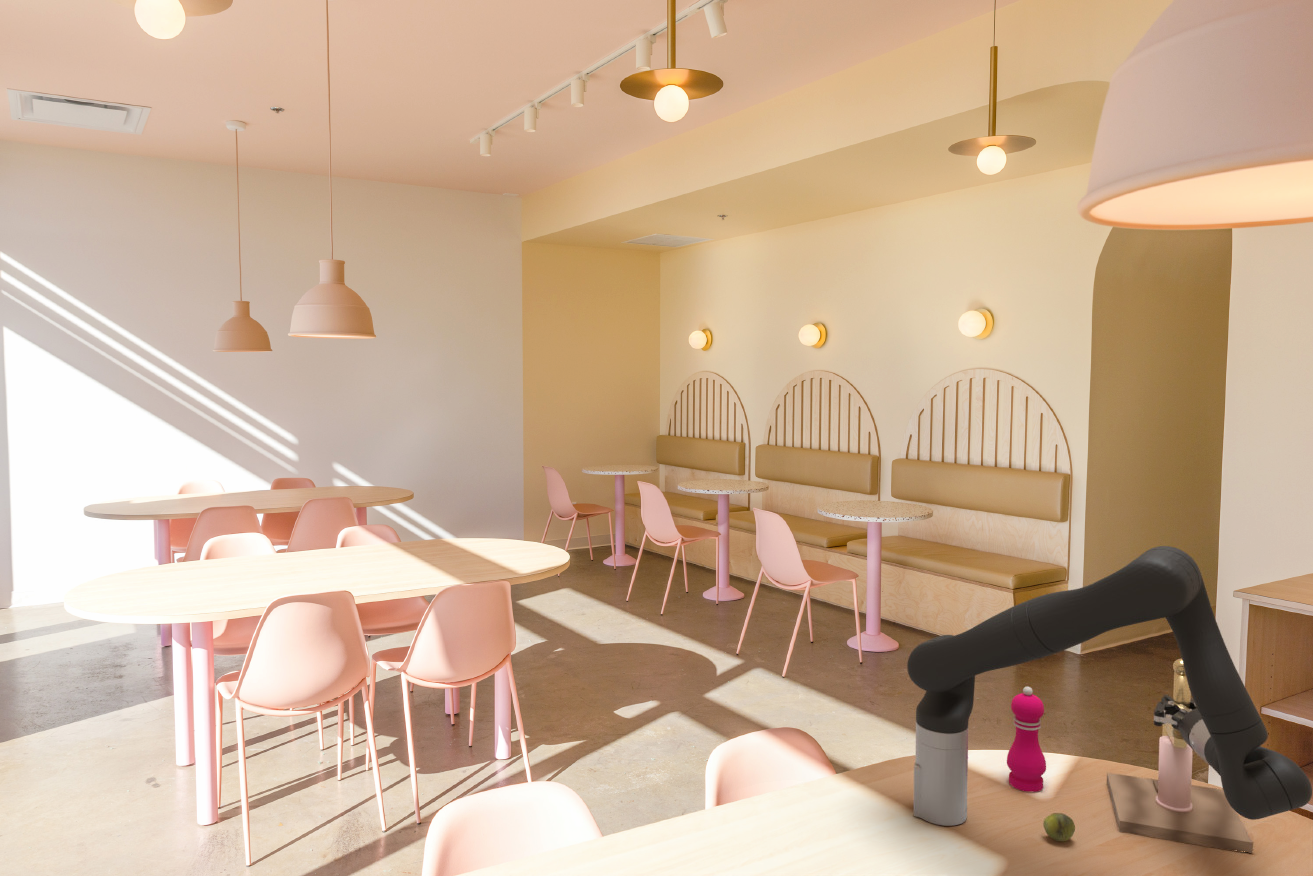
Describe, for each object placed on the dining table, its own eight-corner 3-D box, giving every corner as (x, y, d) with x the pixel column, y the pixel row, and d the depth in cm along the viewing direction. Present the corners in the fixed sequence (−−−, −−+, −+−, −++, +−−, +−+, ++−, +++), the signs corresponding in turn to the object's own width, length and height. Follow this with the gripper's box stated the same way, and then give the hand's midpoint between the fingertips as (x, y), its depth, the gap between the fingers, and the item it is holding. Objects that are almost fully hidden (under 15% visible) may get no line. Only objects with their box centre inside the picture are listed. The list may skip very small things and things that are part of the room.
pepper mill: (1052, 793, 165) (1054, 693, 164) (1014, 793, 166) (1016, 693, 164) (1036, 776, 173) (1038, 680, 171) (1000, 776, 173) (1002, 680, 171)
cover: (1158, 809, 155) (1160, 745, 154) (1153, 794, 161) (1155, 733, 160) (1195, 815, 153) (1197, 750, 152) (1188, 800, 158) (1191, 737, 158)
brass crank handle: (1155, 772, 166) (1160, 636, 165) (1173, 774, 165) (1177, 637, 164) (1170, 809, 152) (1175, 660, 150) (1189, 812, 151) (1194, 662, 149)
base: (1119, 831, 151) (1119, 816, 151) (1106, 782, 170) (1106, 768, 170) (1252, 854, 144) (1253, 838, 144) (1224, 799, 162) (1224, 785, 162)
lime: (1039, 836, 150) (1039, 809, 150) (1060, 831, 152) (1060, 804, 151) (1059, 849, 146) (1059, 821, 146) (1080, 844, 148) (1081, 816, 147)
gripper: (1265, 720, 136) (1218, 683, 153) (1169, 714, 139) (1133, 678, 156) (1263, 766, 137) (1217, 723, 153) (1167, 758, 140) (1132, 717, 156)
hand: (1175, 700), depth 155 cm, fingers closed on brass crank handle, 2 cm apart
